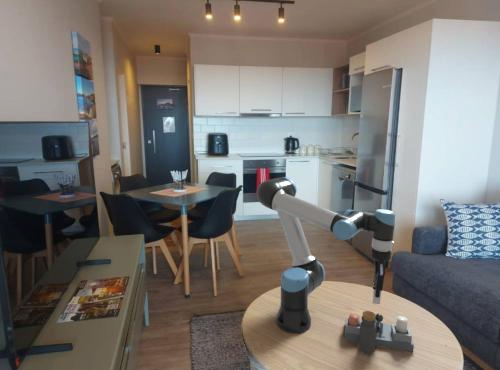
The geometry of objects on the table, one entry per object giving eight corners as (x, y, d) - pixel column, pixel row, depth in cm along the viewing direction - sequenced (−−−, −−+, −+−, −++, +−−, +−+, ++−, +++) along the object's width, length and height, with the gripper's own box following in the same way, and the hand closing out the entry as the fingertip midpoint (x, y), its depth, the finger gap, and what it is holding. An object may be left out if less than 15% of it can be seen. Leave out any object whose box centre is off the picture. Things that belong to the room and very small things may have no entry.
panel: (345, 340, 134) (346, 324, 133) (344, 324, 145) (345, 308, 144) (413, 351, 128) (414, 334, 126) (407, 333, 139) (408, 317, 138)
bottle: (377, 353, 127) (380, 317, 124) (364, 355, 125) (367, 319, 123) (368, 343, 132) (370, 308, 130) (355, 346, 131) (357, 311, 128)
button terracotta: (348, 329, 135) (349, 318, 134) (348, 324, 139) (349, 313, 138) (358, 331, 134) (359, 319, 133) (358, 325, 138) (359, 314, 137)
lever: (372, 331, 136) (375, 319, 128) (372, 323, 138) (375, 311, 130) (380, 332, 136) (383, 320, 127) (379, 325, 138) (383, 312, 129)
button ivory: (396, 332, 130) (397, 321, 129) (395, 326, 134) (396, 315, 133) (407, 334, 129) (408, 322, 128) (405, 328, 133) (406, 317, 132)
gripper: (394, 255, 125) (388, 313, 129) (389, 244, 137) (383, 296, 142) (373, 253, 127) (367, 309, 131) (370, 242, 139) (365, 293, 144)
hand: (376, 302), depth 136 cm, fingers closed
